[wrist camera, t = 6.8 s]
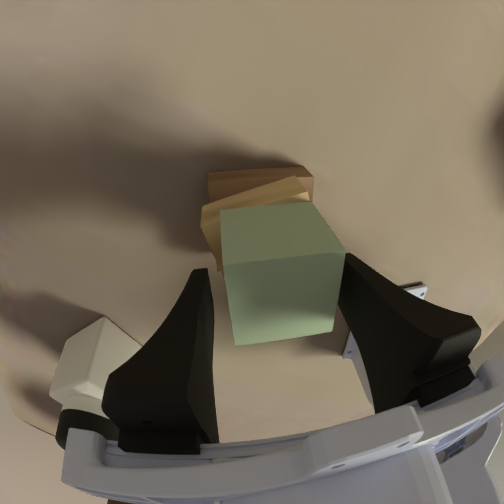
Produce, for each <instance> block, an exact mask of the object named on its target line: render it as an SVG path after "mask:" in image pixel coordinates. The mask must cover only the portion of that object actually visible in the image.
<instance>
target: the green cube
mask: <svg viewBox="0 0 504 504" xmlns="http://www.w3.org/2000/svg"><path fill="white" fill-rule="evenodd" d="M220 225H221V244H222V261H223V270H224V277H225V284H226V291H227V297H228V304H229V311H230V317H231V323H232V330H233V336H234V342H235V346H239V345H248V344H256V343H263V342H271V341H278V340H284V339H291V338H297V337H303V336H309V335H315V334H320V333H326V332H331V331H332V329H333V324H334V319H335V313H336V308H337V303H338V297H339V291H340V286H341V280H342V273H343V267H344V260H345V253H346V250H345V248H344V247H343V245H342V244H341V242H340V241H339V240H338V238H337V237H336V235H335V234H334V232H333V231H332V230H331V228H330V227H329V225H328V224H327V222H326V221H325V220H324V218H323V217H322V216H321V214H320V213H319V211H318V210H317V209H316V207H315V206H314V205H313V203H312V202H311V201H310V202H297V203H286V204H275V205H264V206H253V207H244V208H234V209H225V210H220Z"/></svg>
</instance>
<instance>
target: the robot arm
mask: <svg viewBox="0 0 504 504" xmlns="http://www.w3.org/2000/svg"><path fill="white" fill-rule="evenodd" d="M426 291H427V286H426V285H419V286H414V287H409V288H404V289H402V288H400V287H399V286H397V285H396V284H394V283H393V282H391V281H389V280H388V279H386V278H385V277H383V276H382V275H381V274H379V273H378V272H376V271H375V270H374V269H372V268H371V267H369V266H368V265H367V264H365V263H364V262H363V261H361V260H360V259H358V258H357V257H356V256H354V255H353V254H351V253H345V260H344V267H343V273H342V280H341V286H340V291H339V297H338V306H339V308H340V310H341V312H342V314H343V316H344V318H345V320H346V322H347V324H348V327H349V329H350V334H349V337H348V340H347V344H346V347H345V350H344V353H343V359H344V360H349V359H352V361H353V364H354V366H355V368H356V371H357V373H358V376H359V378H360V381H361V383H362V386H363V389H364V391H365V394H366V396H367V398H368V400H369V402H370V403H371V404H372V405H373V406H374V410H375V414H374V415H371V416H368V417H364V418H361V419H358V420H354V421H350V422H347V423H343V424H339V425H335V426H332V427H328V428H324V429H319V430H314V431H310V432H305V433H299V434H294V435H288V436H282V437H275V438H268V439H261V440H252V441H242V442H231V443H219V435H218V427H217V418H216V408H215V397H214V385H213V367H212V362H213V341H214V306H213V298H212V292H211V287H210V281H209V275H208V269H207V268H203V269H194V270H193V271H192V272H191V275H190V277H189V279H188V281H187V283H186V285H185V287H184V289H183V291H182V293H181V295H180V297H179V298H178V300H177V302H176V304H175V305H174V307H173V308H172V310H171V312H170V313H169V315H168V316H167V318H166V319H165V321H164V322H163V323H162V325H161V326H160V327H159V328H158V330H157V331H156V332H155V333H154V334H153V336H152V337H151V338H150V339H149V340H148V341H147V342H146V343H145V345H144V346H143V347H142V348H141V349H139V350H138V351H137V352H136V353H135V354H134V355H133V356H132V357H131V358H130V359H129V360H127V361H126V362H125V363H124V364H122V365H121V366H120V367H118V368H117V369H116V370H114V371H113V372H112V373H110V374H109V376H108V379H107V382H106V385H105V388H104V393H103V398H102V404H101V408H102V411H103V412H104V414H105V415H106V416H107V417H108V418H109V419H110V420H111V421H112V422H113V423H114V424H115V425H116V426H117V427H118V428H119V437H118V441H111V440H106V439H105V438H104V437H103V436H102V435H101V434H99V433H97V432H94V431H89V430H82V429H76V428H69V431H68V436H67V442H66V448H65V454H64V461H63V468H62V476H61V481H62V482H63V483H65V484H67V485H70V486H71V487H74V488H76V489H79V490H81V491H83V492H86V493H88V494H91V495H93V496H97V497H102V498H106V499H111V500H116V501H122V502H127V503H134V504H504V502H503V499H502V497H501V494H500V491H499V489H498V486H497V484H496V482H495V479H494V477H493V474H492V472H491V469H490V467H489V465H488V463H487V461H488V459H489V457H490V455H491V453H492V452H493V450H494V448H495V446H496V444H497V442H498V440H499V438H500V436H501V433H502V430H503V429H502V427H501V426H502V424H503V421H502V419H501V417H500V415H499V412H500V411H501V410H502V409H503V408H504V360H503V358H502V357H501V355H500V354H497V355H495V356H494V357H492V358H490V359H489V360H487V361H485V362H484V363H483V364H482V365H481V366H480V367H479V369H478V370H477V369H476V368H475V366H474V364H473V363H472V361H471V360H470V359H469V358H468V355H469V354H470V353H471V351H472V350H473V348H474V347H475V345H476V344H477V342H478V340H479V339H480V336H481V328H480V327H479V326H478V324H477V323H476V321H475V320H474V319H473V317H472V316H469V315H465V314H462V313H458V312H454V311H451V310H448V309H445V308H442V307H439V306H437V305H434V304H432V303H430V302H427V301H425V300H423V299H424V296H425V294H426Z"/></svg>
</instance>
